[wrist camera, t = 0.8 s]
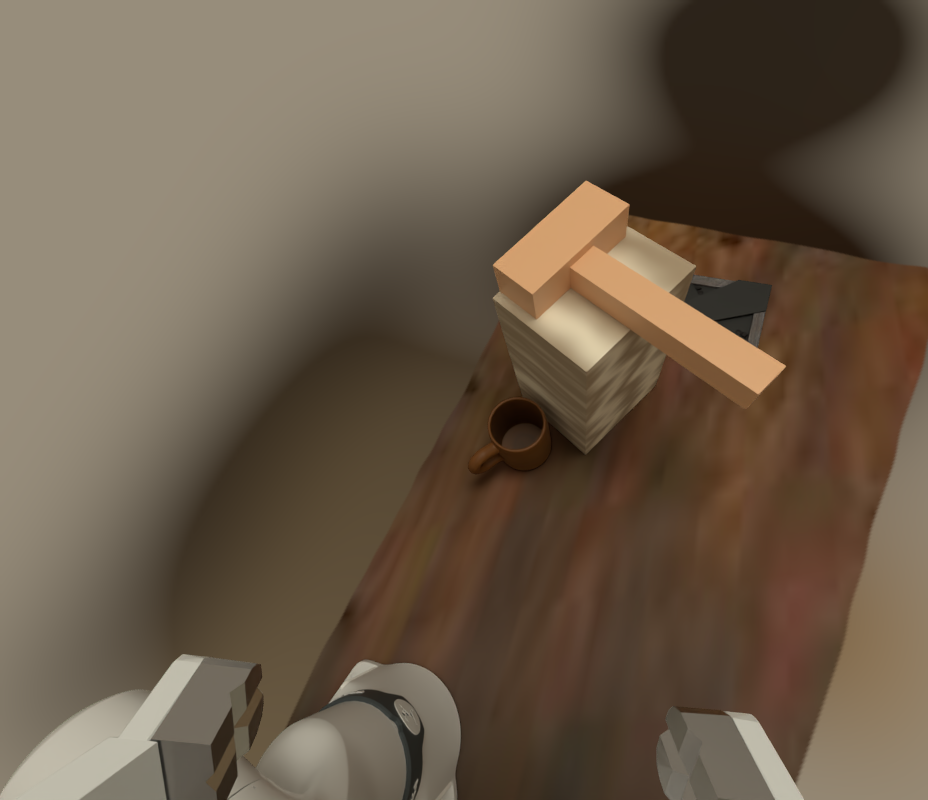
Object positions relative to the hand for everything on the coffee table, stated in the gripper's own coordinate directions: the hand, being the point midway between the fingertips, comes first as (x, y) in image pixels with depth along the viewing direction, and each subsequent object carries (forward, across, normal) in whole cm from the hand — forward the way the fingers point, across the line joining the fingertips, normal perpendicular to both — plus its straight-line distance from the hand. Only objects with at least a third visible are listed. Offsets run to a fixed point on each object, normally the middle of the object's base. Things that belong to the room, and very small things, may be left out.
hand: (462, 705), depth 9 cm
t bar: (+35, +14, +4) cm, 38 cm away
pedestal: (+57, +17, -10) cm, 60 cm away
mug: (+53, +7, -19) cm, 57 cm away
